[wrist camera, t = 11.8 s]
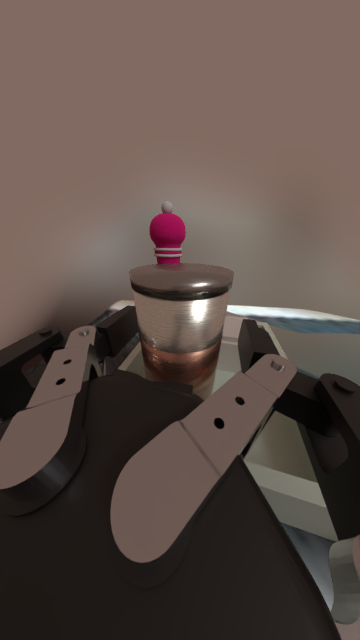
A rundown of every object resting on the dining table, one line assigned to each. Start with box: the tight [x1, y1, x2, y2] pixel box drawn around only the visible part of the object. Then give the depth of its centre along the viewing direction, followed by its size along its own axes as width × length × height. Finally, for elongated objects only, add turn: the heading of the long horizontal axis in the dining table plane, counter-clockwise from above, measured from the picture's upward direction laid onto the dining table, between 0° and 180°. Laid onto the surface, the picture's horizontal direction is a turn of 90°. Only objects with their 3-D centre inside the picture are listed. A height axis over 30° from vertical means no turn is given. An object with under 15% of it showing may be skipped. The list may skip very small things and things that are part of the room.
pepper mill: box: [150, 201, 186, 264], centre depth 27 cm, size 7×7×20 cm
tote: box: [118, 322, 338, 542], centre depth 16 cm, size 16×18×4 cm
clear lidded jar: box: [129, 263, 234, 400], centre depth 11 cm, size 6×6×12 cm
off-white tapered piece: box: [217, 316, 248, 373], centre depth 19 cm, size 10×6×5 cm, turn 76°
